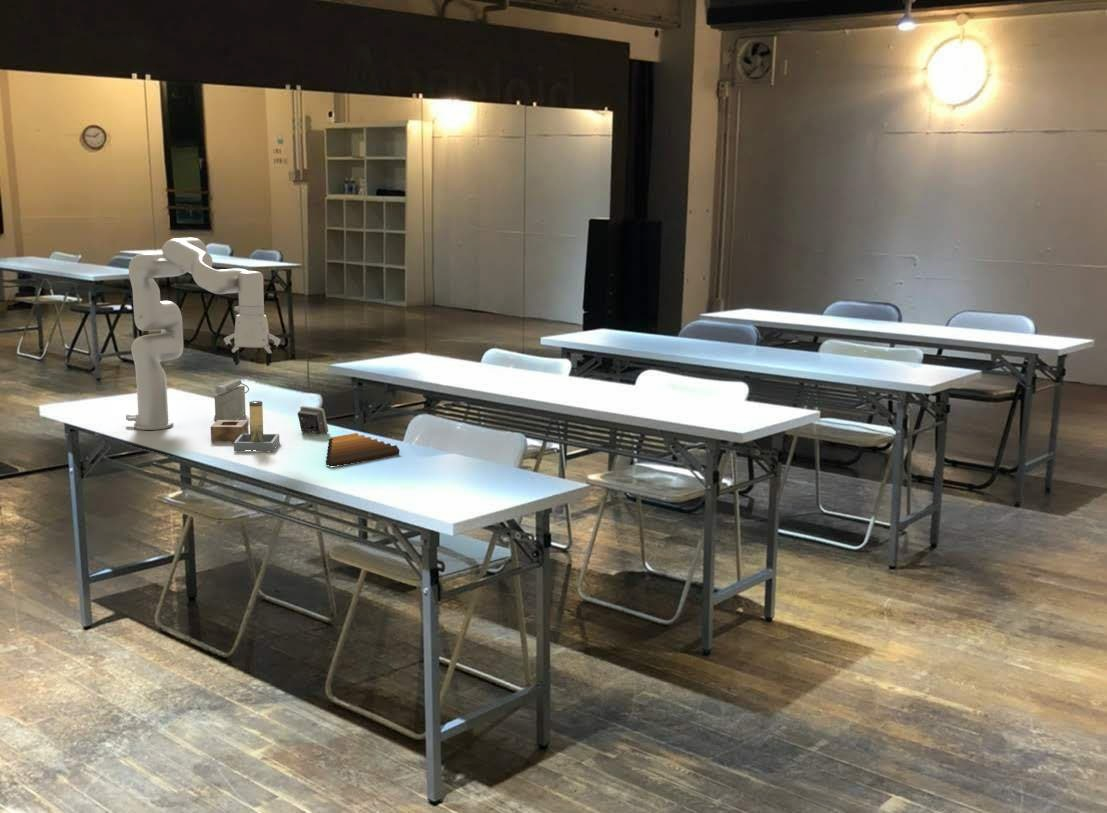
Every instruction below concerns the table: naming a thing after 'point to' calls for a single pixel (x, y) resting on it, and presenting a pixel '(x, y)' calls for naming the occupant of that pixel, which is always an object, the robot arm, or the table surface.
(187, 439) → the table surface
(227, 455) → the table surface
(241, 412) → the geiger counter
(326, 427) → the electrical switch
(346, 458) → the pan flute
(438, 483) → the table surface
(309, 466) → the table surface
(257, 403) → the brass pin
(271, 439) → the parts tray
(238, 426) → the brown square frame
